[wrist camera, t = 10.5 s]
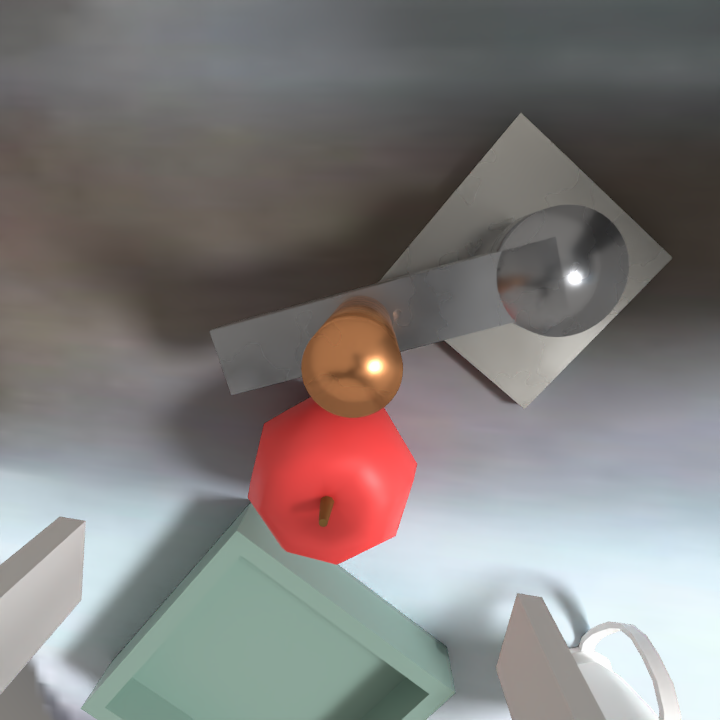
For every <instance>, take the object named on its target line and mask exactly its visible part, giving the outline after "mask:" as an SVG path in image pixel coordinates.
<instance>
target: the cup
mask: <svg viewBox="0 0 720 720" xmlns="http://www.w3.org/2000/svg"><path fill="white" fill-rule="evenodd" d="M619 631H622V632H624V633H625V634H626V635H627V636H628V637H629V638H631V640H632V641H633V643H634V645H635V647H636V648H637V650H638V652H639V653H640V655H641V657H642V659H643V661H644V663H645V665H646V667H647V670H648V672H649V674H650V676H651V678H652V680H653V685H654V689H655V693H656V698H657V702H658V706H659V717H658V716H657V715H656V713H655V712H654V711H653V710H652V708H651V707H650V706H649V705H648V704H647V703H646V702H645V701H644V700H643V699H642V698H641V697H640V696H639V695H638V694H637V693H636V692H635V690H634V689H633V688H632V687H631V686H630V685H629V684H628V683H627V682H626V681H625V680H624V679H623V678H622V677H621V676H620V675H618V674H616V673H615V672H613V671H612V668H611V663H610V661H609V660H608V658H606V657H604V656H603V655H601V654H599V653H597V652H596V651H594V650H595V647H596V644H597V643H598V642H599V641H600V640H601V639H603V638H604V637H605V636H607V635H610V634H613V633H615V632H619ZM569 650H570V652H571V654H572V656H573V658H574V660H575V661H576V663H577V665H578V667H579V669H580V671H581V673H582V675H583V677H584V679H585V681H586V682H587V684H588V686H589V688H590V690H591V692H592V694H593V696H594V698H595V700H596V702H597V703H598V705H599V707H600V709H601V711H602V713H603V715H604V717H605V719H606V720H681V712H680V708H679V704H678V700H677V696H676V692H675V688H674V684H673V682H672V680H671V678H670V676H669V674H668V672H667V670H666V668H665V666H664V664H663V662H662V660H661V658H660V656H659V654H658V653H657V651H656V649H655V648H654V646H653V645H652V643H651V642H650V640H649V639H648V637H647V636H646V635H645V634H644V633H643V632H641V631H640V630H639V629H638V628H637V627H636V626H634V625H630V624H623V623H616V622H606V623H603V624H600V625H598V626H596V627H594V628H592V629H590V630H589V631H588V632H587V633H586V634H585V635H584V636H583V637H582V638H581V641H580V644H579V647H575V648H569Z"/></svg>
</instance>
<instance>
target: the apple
mask: <svg viewBox="0 0 720 720" xmlns="http://www.w3.org/2000/svg"><path fill="white" fill-rule="evenodd" d="M416 467H417V463H416V461H415V460H414V458H413V456H412V454H411V453H410V451H409V449H408V448H407V446H406V444H405V443H404V441H403V439H402V437H401V436H400V434H399V432H398V431H397V429H396V427H395V426H394V424H393V422H392V420H391V419H390V417H389V415H388V414H387V412H386V410H385V409H384V408H382V409H381V410H379V411H377V412H375V413H373V414H371V415H368V416H364V417H359V418H347V417H341V416H338V415H334V414H332V413H330V412H328V411H326V410H325V409H323V408H322V407H320V406H319V405H318V404H317V403H316V402H315V401H314V400H313V399H312V397H310V398H308V399H306V400H305V401H303V402H301V403H299V404H297V405H296V406H294V407H292V408H290V409H288V410H286V411H285V412H283V413H281V414H280V415H278V416H276V417H275V418H273V419H271V420H269V421H268V422H266V423H264V426H263V430H262V434H261V439H260V443H259V447H258V451H257V456H256V460H255V464H254V468H253V473H252V477H251V481H250V487H249V493H248V499H249V500H250V502H251V503H252V505H253V506H254V508H255V509H256V511H257V512H258V514H259V515H260V516H261V518H262V519H263V521H264V522H265V524H266V525H267V527H268V528H269V530H270V531H271V533H272V534H273V536H274V537H275V539H276V540H277V542H278V543H279V544H280V546H281V547H282V548H283V549H284V550H285V551H286V552H289V553H293V554H297V555H301V556H305V557H309V558H312V559H316V560H320V561H324V562H328V563H332V564H336V565H337V564H339V563H342V562H344V561H346V560H348V559H350V558H352V557H354V556H356V555H358V554H360V553H362V552H364V551H366V550H368V549H370V548H372V547H374V546H376V545H378V544H380V543H382V542H384V541H386V540H388V539H390V538H392V537H394V536H396V533H397V530H398V527H399V524H400V521H401V517H402V514H403V511H404V508H405V505H406V502H407V499H408V496H409V493H410V490H411V486H412V483H413V480H414V476H415V471H416Z"/></svg>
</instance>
